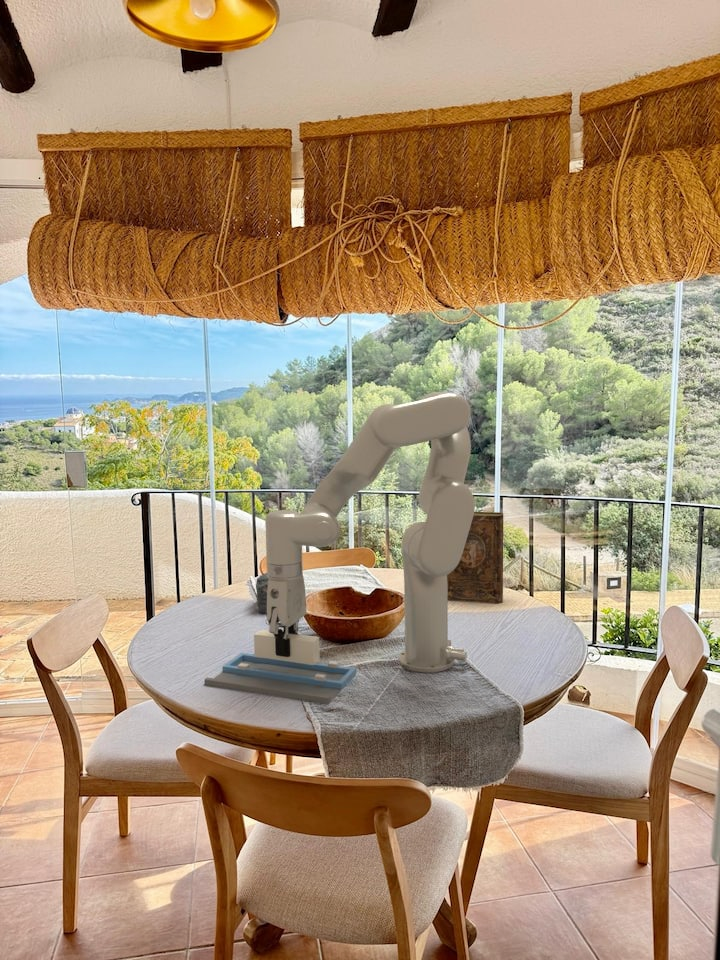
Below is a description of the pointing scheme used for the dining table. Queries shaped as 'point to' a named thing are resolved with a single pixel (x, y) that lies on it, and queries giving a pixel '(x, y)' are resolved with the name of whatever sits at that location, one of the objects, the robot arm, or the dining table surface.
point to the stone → (262, 593)
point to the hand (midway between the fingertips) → (286, 651)
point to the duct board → (283, 678)
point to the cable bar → (300, 648)
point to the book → (480, 562)
